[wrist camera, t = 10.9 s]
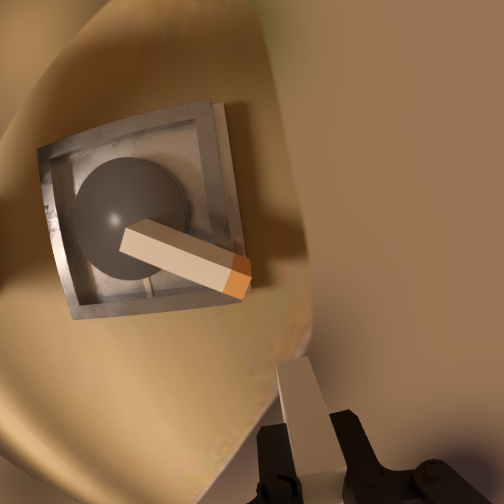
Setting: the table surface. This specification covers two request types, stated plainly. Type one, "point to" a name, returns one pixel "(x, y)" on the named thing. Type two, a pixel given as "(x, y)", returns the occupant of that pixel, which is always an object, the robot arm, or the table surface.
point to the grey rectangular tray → (191, 180)
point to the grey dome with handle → (148, 228)
